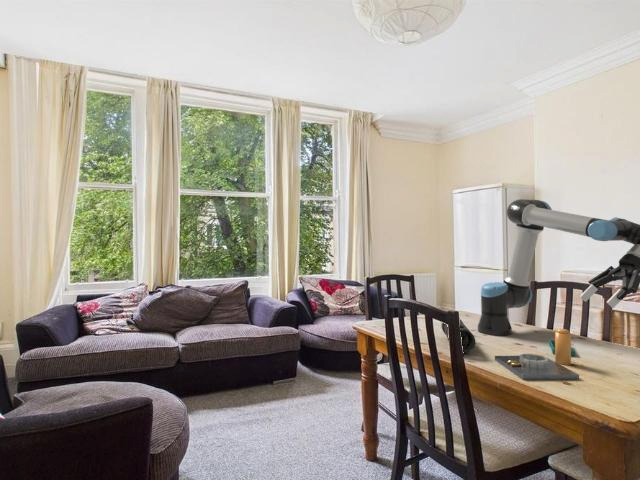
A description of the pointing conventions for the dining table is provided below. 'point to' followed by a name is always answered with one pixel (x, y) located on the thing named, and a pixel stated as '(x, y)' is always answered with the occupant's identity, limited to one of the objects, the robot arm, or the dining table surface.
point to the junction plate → (537, 373)
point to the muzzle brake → (463, 336)
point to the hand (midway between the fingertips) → (595, 302)
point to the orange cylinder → (563, 347)
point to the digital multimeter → (552, 345)
